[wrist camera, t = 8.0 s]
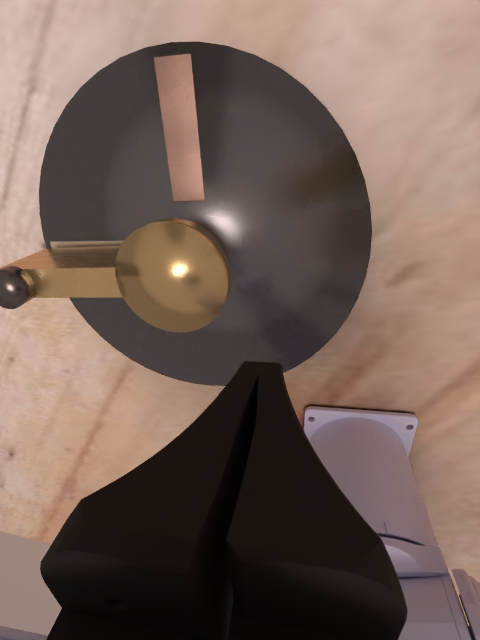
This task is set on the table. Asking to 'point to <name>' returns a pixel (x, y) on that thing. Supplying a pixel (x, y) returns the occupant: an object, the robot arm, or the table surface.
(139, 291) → the tan bar with ball
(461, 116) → the table surface
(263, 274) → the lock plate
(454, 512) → the table surface
